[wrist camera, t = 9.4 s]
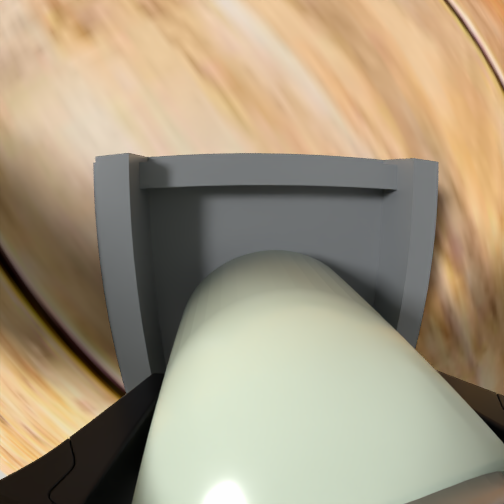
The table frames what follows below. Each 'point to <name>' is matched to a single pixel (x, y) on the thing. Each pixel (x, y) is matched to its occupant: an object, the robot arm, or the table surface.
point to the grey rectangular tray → (255, 234)
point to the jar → (306, 401)
